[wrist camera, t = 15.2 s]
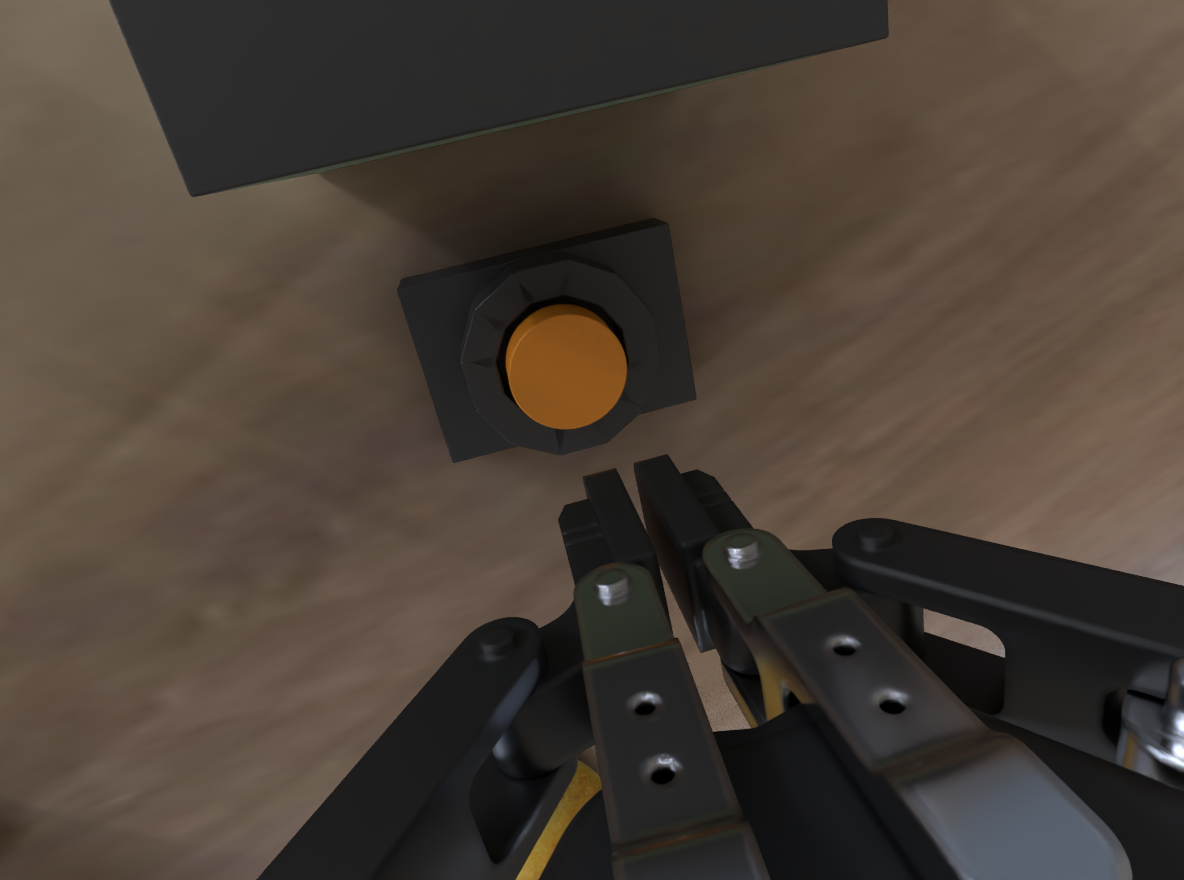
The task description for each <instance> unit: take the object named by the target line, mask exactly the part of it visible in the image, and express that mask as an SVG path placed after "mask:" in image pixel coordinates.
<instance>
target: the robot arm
mask: <svg viewBox="0 0 1184 880" xmlns="http://www.w3.org/2000/svg"><path fill="white" fill-rule="evenodd" d="M634 472H635V477H636V482H637V487H638V491H639V496H640V501H641V506H642V511H643V515H644V520H645V525H646V529H647V532H646V530H645V528H644V526H643V524H642V522H641V519H640V517H639V515H638V513H637V511H636V509H635V507H634V505H633V503H632V501H631V499H630V497H629V494H628V492H627V490H626V488H625V486H624V484H623V482H622V480H621V478H620V476H619V474H618V471H617V469H616V468H613V469H610V470H606V471H602V472H598V473H595V474H591V475H587V476H584V477H583V482H584V486H585V491H586V495H587V499H586V500H582V501H578V502H574V503H571V504H567V505H565V506H564V508H563V510H562V512H561V514H560V517H559V519H558V521H559V525H560V529H561V533H562V537H563V540H564V544H565V548H566V552H567V556H568V560H569V564H570V567H571V571H572V575H573V579H574V583H575V588H574V601H573V602H572V604H571V606H570V607H569V608H568V609H567V611H565V612H564V613H563V614H562V615H561V616H560V617H558V618H557V619H556V620H554V621H552V622H551V623H549V624H547V625H545V626H543V627H541V628H538V626H537V625H536V624H535V623H533V622H532V621H530V620H528V619H524V618H519V617H508V618H501V619H498V620H494V621H491V622H489V623H486V624H484V625H482V626H480V627H479V628H477V629H476V630H474V631H473V632H472V633H471V634H469V635H468V636H467V637H466V638H465V639H464V641H463V642H462V643H461V644H460V645H459V646H458V648H457V649H456V650H455V651H454V652H453V653H452V654H451V656H450V657H449V658H448V659H447V660H446V661H445V663H444V664H443V665H442V666H441V667H440V668H439V669H438V671H437V672H436V673H435V674H434V675H433V676H432V678H431V679H430V680H429V681H428V682H427V683H426V684H425V686H424V687H423V688H422V689H421V690H420V691H419V693H418V694H417V695H416V696H415V697H414V698H413V700H412V701H411V702H410V703H409V704H408V705H407V706H406V708H405V709H404V710H403V711H402V712H401V713H400V715H399V716H398V717H397V718H396V719H395V720H394V721H393V723H392V724H391V725H390V726H389V727H388V728H387V730H386V731H385V732H384V733H383V734H382V735H381V736H380V738H379V739H378V740H377V741H376V742H375V743H374V745H373V746H372V747H371V748H370V749H369V750H368V751H367V753H366V754H365V755H364V756H363V757H362V758H361V760H360V761H359V762H358V763H357V764H356V765H355V766H354V768H353V769H352V770H351V771H350V772H349V773H348V775H347V776H346V777H345V778H344V779H343V780H342V781H341V783H340V784H339V785H338V786H337V787H336V788H335V790H334V791H333V792H332V793H331V794H330V795H329V797H328V798H327V799H326V800H325V801H324V802H323V803H322V805H321V806H320V807H319V808H318V809H317V810H316V812H315V813H314V814H313V815H312V816H311V817H310V818H309V820H308V821H307V822H306V823H305V824H304V825H303V827H302V828H301V829H300V830H299V831H298V832H297V833H296V835H295V836H294V837H293V838H292V839H291V840H290V842H289V843H288V844H287V845H286V846H285V847H284V848H283V850H282V851H281V852H280V853H279V854H278V855H277V857H276V858H275V859H274V860H273V861H272V862H271V863H270V865H269V866H268V867H267V868H266V869H265V870H264V872H263V873H262V874H261V875H260V876H259V877H258V879H257V880H516V878H517V877H518V875H519V873H520V871H521V869H522V868H523V866H524V864H525V862H526V861H527V859H528V857H529V855H530V854H531V852H532V850H533V848H534V846H535V845H536V843H537V841H538V839H539V838H540V836H541V834H542V832H543V830H544V829H545V827H546V825H547V823H548V822H549V820H550V818H551V816H552V814H553V813H554V811H555V809H556V807H557V806H558V804H559V802H560V800H561V799H562V797H563V795H564V793H565V791H566V790H567V788H568V786H569V784H570V783H571V781H572V779H573V777H574V775H575V773H576V770H577V766H578V758H577V755H578V754H580V753H582V752H583V751H585V750H586V749H588V748H590V747H591V746H593V745H594V744H595V749H596V755H597V761H598V767H599V773H600V779H601V785H602V789H601V790H600V791H598V792H597V793H596V794H595V795H594V796H593V797H592V798H591V799H590V800H588V801H587V802H586V803H585V805H584V806H583V807H582V808H581V809H580V810H579V811H578V812H577V814H576V815H575V816H574V818H573V819H572V820H571V822H570V823H569V825H568V826H567V827H566V829H565V831H564V833H563V834H562V836H561V838H560V840H559V842H558V843H557V845H556V847H555V849H554V851H553V853H552V855H551V857H550V859H549V860H548V862H547V864H546V866H545V868H544V870H543V872H542V874H541V876H540V877H539V879H538V880H1184V586H1182V585H1177V584H1173V583H1169V582H1164V581H1160V580H1155V579H1151V578H1147V577H1142V576H1138V575H1133V574H1129V573H1125V572H1120V571H1116V570H1111V569H1107V568H1103V567H1098V566H1094V565H1089V564H1085V563H1081V562H1076V561H1072V560H1067V559H1063V558H1059V557H1054V556H1050V555H1045V554H1041V553H1037V552H1032V551H1028V550H1023V549H1019V548H1015V547H1010V546H1006V545H1001V544H997V543H993V542H988V541H984V540H979V539H975V538H971V537H966V536H962V535H957V534H953V533H949V532H944V531H940V530H935V529H931V528H927V527H922V526H918V525H913V524H909V523H905V522H900V521H896V520H891V519H884V518H868V519H861V520H856V521H853V522H850V523H847V524H845V525H844V526H842V527H840V528H839V529H838V530H837V531H836V532H835V533H834V535H833V538H832V547H833V549H819V550H789V549H788V548H787V547H786V546H785V545H784V544H783V543H782V542H781V541H780V540H779V539H778V538H777V537H776V536H775V535H773V534H772V533H769V532H767V531H764V530H760V529H754V528H753V527H752V526H751V524H750V523H749V522H748V521H747V519H746V518H745V517H744V515H743V514H742V513H741V511H740V510H739V509H738V507H737V506H736V505H735V503H734V502H733V501H731V498H730V497H729V496H728V494H727V493H726V492H725V491H724V489H723V488H722V486H721V485H720V484H719V483H718V481H717V480H716V479H715V477H713V476H711V475H708V474H706V473H704V472H702V471H700V470H693V471H689V472H685V473H682V474H680V472H679V471H678V469H677V468H676V466H675V465H674V463H673V462H672V460H671V459H670V457H669V456H668V455H667V454H666V455H662V456H658V457H654V458H651V459H647V460H643V461H639V462H636V463H634ZM647 533H648V534H647ZM659 565H660V568H661V570H662V572H663V574H664V576H665V578H666V580H667V582H668V585H669V587H670V589H671V591H672V593H673V595H674V597H675V599H676V601H677V604H678V606H679V608H680V610H681V612H682V614H683V616H684V618H685V621H686V623H687V625H688V627H689V629H690V631H691V633H692V635H693V637H694V640H695V642H696V644H697V646H698V648H699V650H700V652H701V653H702V652H705V651H709V650H712V649H716V650H717V651H718V653H719V655H720V660H721V665H722V671H723V677H724V680H725V683H726V685H727V686H728V688H729V690H730V692H731V693H732V695H733V697H734V699H735V700H736V702H737V704H738V706H739V708H740V709H741V711H742V713H743V715H744V716H745V718H746V720H747V722H748V723H749V725H750V727H751V729H741V730H729V731H717V732H713V731H712V728H711V726H710V723H709V720H708V717H707V715H706V712H705V709H704V706H703V704H702V701H701V698H700V696H699V693H698V690H697V687H696V685H695V682H694V679H693V676H692V674H691V671H690V668H689V665H688V663H687V660H686V657H685V654H684V652H683V649H682V646H681V644H680V641H679V639H678V638H674V636H673V631H672V626H671V621H670V616H669V612H668V607H667V602H666V597H665V592H664V587H663V582H662V577H661V573H660V568H659ZM923 608H925V609H928V610H931V611H934V612H938V613H941V614H944V615H948V616H951V617H954V618H957V619H961V620H964V621H967V622H971V623H974V624H977V625H980V626H983V627H985V628H987V629H989V630H990V631H992V632H993V633H994V634H995V635H996V636H997V637H998V638H999V639H1000V640H1001V641H1002V643H1003V645H1004V648H1005V658H1003V657H1000V656H997V655H994V654H991V653H988V652H985V651H982V650H979V649H976V648H973V647H970V646H966V645H963V644H960V643H957V642H954V641H951V640H948V639H945V638H942V637H939V636H936V635H933V634H930V633H927V632H924V618H923Z"/></svg>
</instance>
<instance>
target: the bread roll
mask: <svg viewBox="0 0 1184 880" xmlns="http://www.w3.org/2000/svg"><path fill="white" fill-rule="evenodd" d="M601 789H602V785H601V779H600V776H599V775H598V774H597V773H596V772H595V771H594V770H593V769H591V768H590V767H589V766H588V765H586V764H585V763H583V762H582V761H580V760H578V766H577V770H576V773H575V775H574V777H573V779H572V781H571V783H570V784H569V786H568V788H567V790H566V791H565V793H564V795H563V797H562V799H561V800H560V802H559V804H558V806H557V807H556V809H555V811H554V813H553V814H552V816H551V818H550V820H549V822H548V823H547V825H546V827H545V829H544V830H543V832H542V834H541V836H540V838H539V839H538V841H537V843H536V845H535V846H534V848H533V850H532V852H531V854H530V855H529V857H528V859H527V861H526V862H525V864H524V866H523V868H522V869H521V871H520V873H519V875H518V877H517V878H516V880H538V879H539V877H540V876H541V874H542V872H543V870H544V868H545V866H546V864H547V862H548V860H549V859H550V857H551V855H552V853H553V851H554V849H555V847H556V845H557V843H558V842H559V840H560V838H561V836H562V834H563V833H564V831H565V829H566V827H567V826H568V825H569V823H570V822H571V820H572V819H573V818H574V816H575V815H576V814H577V812H578V811H579V810H580V809H581V808H582V807H583V806H584V805H585V803H586V802H587V801H588V800H590V799H591V798H592V797H593V796H594V795H595V794H596V793H597V792H598V791H600V790H601Z"/></svg>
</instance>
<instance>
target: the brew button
mask: <svg viewBox="0 0 1184 880" xmlns="http://www.w3.org/2000/svg"><path fill="white" fill-rule="evenodd" d="M506 370H507V375H508V380H509V385H510V389H511V392H512V395H513V397H514V399H515V401H516V403H517V404H518V405H519V407H520V408H521V409H522V410H523V412H524V413H525V414H526V415H528V416H529V417H530V418H531V419H533V420H535V421H536V422H538V423H540V424H542V425H545V426H548V427H551V428H556V429H575V428H580V427H583V426H587V425H589V424H591V423H593V422H596V421H597V420H599V419H600V418H602V417H603V416H604V415H606V414H607V413H608V412H609V411H610V410H611V409H612V408H613V407H614V405H615V404H616V403H617V401H618V399H619V398H620V396H621V394H622V392H623V389H624V386H625V383H626V377H627V362H626V356H625V353H624V350H623V348H622V345H621V343H620V342H619V340H618V338H617V337H616V336H615V335H614V333H613V332H612V331H611V330H610V328H609V327H608V326H607V325H606V323H605V322H604V321H603V320H602V319H601V318H600V317H599V316H597V315H596V314H595V313H593V312H591V311H590V310H588V309H586V308H583V307H580V306H576V305H571V304H556V305H550V306H547V307H544V308H541V309H539V310H537V311H535V312H533V313H532V314H530V315H529V316H527V317H526V318H525V319H524V320H523V321H522V322H521V323H520V324H519V325H518V326H517V328H516V329H515V331H514V332H513V334H512V336H511V338H510V340H509V343H508V346H507V351H506Z"/></svg>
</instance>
